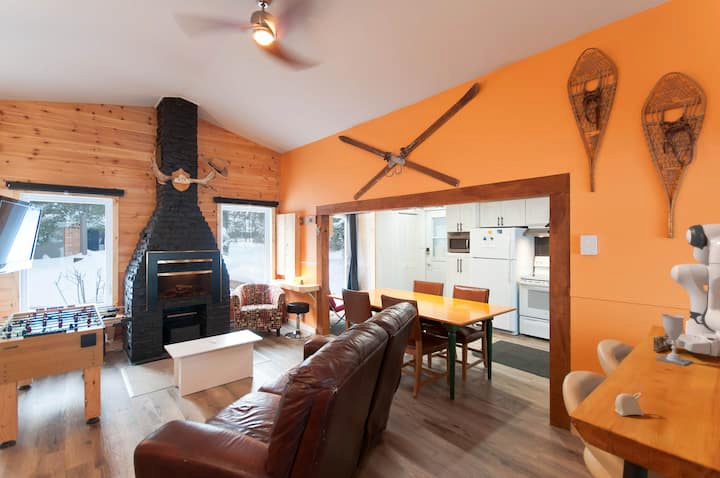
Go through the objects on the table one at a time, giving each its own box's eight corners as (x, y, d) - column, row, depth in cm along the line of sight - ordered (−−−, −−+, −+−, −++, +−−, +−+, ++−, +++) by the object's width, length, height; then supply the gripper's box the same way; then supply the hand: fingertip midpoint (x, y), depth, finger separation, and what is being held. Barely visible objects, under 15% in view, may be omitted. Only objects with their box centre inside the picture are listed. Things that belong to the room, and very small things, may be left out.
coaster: (664, 356, 148) (664, 354, 148) (692, 362, 140) (692, 360, 140) (655, 359, 143) (655, 358, 143) (684, 365, 136) (684, 364, 136)
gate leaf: (666, 346, 161) (665, 333, 161) (672, 347, 159) (671, 335, 159) (652, 350, 154) (652, 337, 154) (658, 352, 152) (658, 338, 152)
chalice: (658, 357, 144) (657, 315, 144) (668, 355, 146) (667, 313, 147) (680, 363, 137) (679, 318, 138) (689, 361, 140) (688, 317, 140)
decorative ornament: (609, 409, 99) (609, 391, 99) (637, 409, 99) (637, 390, 99) (620, 416, 95) (620, 397, 95) (649, 416, 95) (649, 396, 95)
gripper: (693, 331, 158) (655, 328, 163) (718, 342, 139) (675, 338, 144) (693, 344, 157) (656, 341, 163) (719, 357, 139) (675, 354, 144)
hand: (665, 340), depth 153 cm, fingers closed
